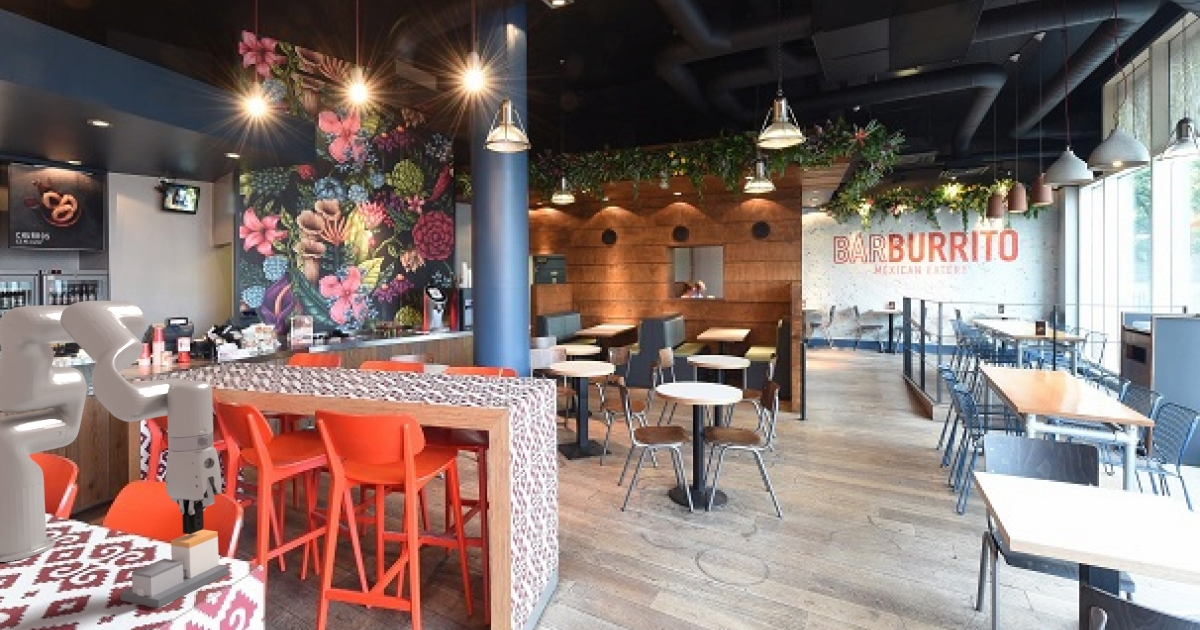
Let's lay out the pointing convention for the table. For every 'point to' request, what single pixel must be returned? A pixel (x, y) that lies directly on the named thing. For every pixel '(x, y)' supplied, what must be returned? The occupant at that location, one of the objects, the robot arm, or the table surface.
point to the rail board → (176, 589)
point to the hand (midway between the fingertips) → (193, 531)
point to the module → (196, 551)
